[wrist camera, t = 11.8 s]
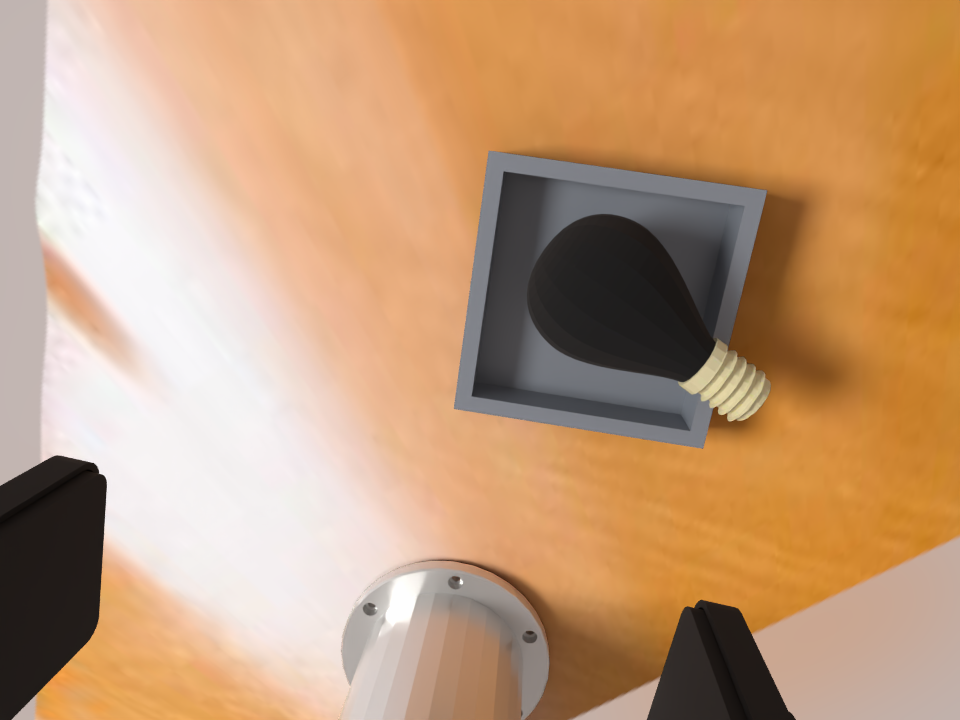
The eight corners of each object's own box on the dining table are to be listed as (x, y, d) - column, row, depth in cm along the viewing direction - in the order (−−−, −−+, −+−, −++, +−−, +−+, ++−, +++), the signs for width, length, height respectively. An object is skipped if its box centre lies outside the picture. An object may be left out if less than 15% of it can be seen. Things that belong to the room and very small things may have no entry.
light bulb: (799, 428, 26) (547, 242, 26) (691, 487, 31) (482, 333, 31) (826, 321, 30) (609, 160, 30) (727, 389, 35) (542, 253, 35)
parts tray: (690, 426, 37) (703, 448, 34) (460, 390, 37) (453, 408, 34) (747, 188, 33) (767, 190, 30) (493, 152, 34) (488, 150, 31)
